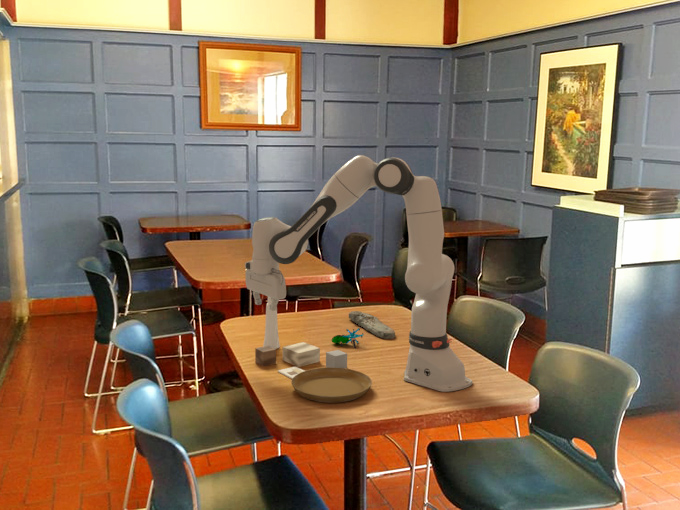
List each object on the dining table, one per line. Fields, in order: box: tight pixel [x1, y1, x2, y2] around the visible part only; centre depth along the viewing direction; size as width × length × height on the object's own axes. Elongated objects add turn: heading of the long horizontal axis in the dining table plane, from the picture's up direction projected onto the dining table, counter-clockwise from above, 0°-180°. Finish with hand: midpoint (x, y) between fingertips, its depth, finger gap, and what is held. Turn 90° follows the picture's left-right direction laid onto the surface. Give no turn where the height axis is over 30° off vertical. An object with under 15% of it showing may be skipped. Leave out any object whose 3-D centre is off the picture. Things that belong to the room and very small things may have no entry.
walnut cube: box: [254, 346, 277, 367], centre depth 227 cm, size 5×5×5 cm
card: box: [277, 365, 305, 380], centre depth 217 cm, size 10×7×1 cm
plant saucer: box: [291, 367, 373, 404], centre depth 204 cm, size 24×24×3 cm
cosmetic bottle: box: [262, 296, 281, 350], centre depth 243 cm, size 6×6×22 cm
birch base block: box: [281, 341, 321, 368], centre depth 230 cm, size 9×9×5 cm
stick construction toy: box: [331, 327, 364, 349], centre depth 248 cm, size 12×7×8 cm
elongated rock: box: [348, 310, 396, 340], centre depth 273 cm, size 35×5×10 cm
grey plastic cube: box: [325, 349, 348, 369], centre depth 224 cm, size 5×5×5 cm
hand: (265, 307), depth 225 cm, fingers open, 8 cm apart
